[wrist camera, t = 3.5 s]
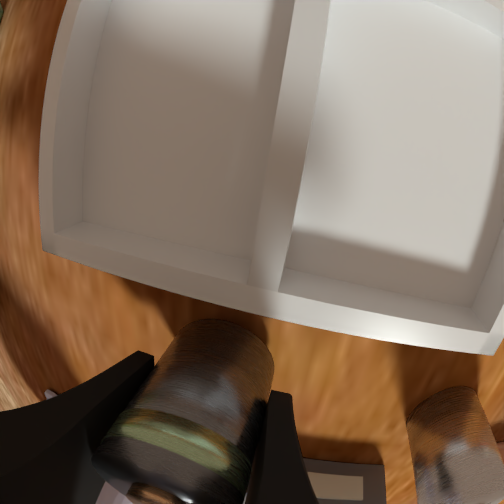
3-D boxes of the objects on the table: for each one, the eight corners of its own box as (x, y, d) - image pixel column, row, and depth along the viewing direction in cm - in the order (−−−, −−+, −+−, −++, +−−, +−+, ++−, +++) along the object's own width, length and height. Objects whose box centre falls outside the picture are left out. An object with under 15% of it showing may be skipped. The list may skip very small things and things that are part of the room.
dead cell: (392, 436, 12) (401, 543, 6) (431, 384, 10) (463, 507, 5) (450, 436, 11) (470, 529, 6) (490, 387, 10) (530, 486, 4)
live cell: (172, 382, 12) (103, 499, 6) (173, 305, 10) (63, 439, 4) (264, 408, 11) (227, 545, 5) (285, 334, 10) (246, 513, 4)
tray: (82, 231, 11) (42, 250, 9) (117, -20, 7) (82, -40, 5) (468, 318, 9) (493, 355, 7) (524, 48, 5) (559, 36, 3)
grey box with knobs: (238, 485, 16) (226, 523, 13) (251, 446, 14) (237, 496, 11) (346, 500, 15) (343, 538, 12) (385, 463, 13) (387, 510, 10)
